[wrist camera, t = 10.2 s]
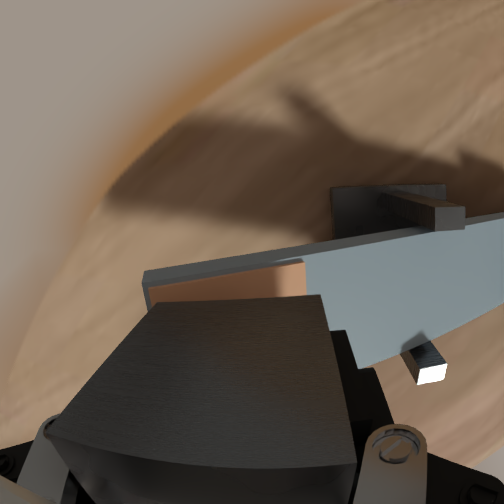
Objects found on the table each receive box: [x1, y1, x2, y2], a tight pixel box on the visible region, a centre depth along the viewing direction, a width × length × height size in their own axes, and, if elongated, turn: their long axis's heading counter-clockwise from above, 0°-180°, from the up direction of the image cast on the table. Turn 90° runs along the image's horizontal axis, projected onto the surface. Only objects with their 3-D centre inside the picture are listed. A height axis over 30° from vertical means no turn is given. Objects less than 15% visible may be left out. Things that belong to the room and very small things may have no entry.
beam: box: [142, 212, 504, 369], centre depth 14 cm, size 26×6×4 cm, turn 95°
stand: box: [330, 184, 465, 385], centre depth 17 cm, size 8×10×8 cm
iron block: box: [45, 294, 357, 504], centre depth 7 cm, size 5×5×6 cm
